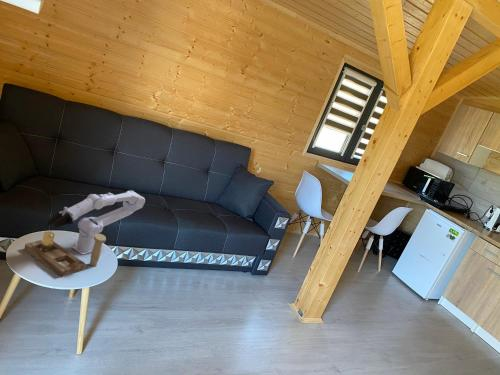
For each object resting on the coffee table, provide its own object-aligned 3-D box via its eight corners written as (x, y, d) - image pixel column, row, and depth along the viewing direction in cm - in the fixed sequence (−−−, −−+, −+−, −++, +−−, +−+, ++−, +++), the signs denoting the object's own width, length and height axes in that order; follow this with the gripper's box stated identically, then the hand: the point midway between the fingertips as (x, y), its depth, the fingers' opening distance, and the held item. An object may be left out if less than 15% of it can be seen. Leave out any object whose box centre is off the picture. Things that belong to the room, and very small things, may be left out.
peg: (46, 249, 180) (50, 230, 178) (52, 253, 178) (56, 235, 176) (37, 251, 176) (41, 232, 174) (43, 256, 174) (48, 237, 172)
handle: (90, 268, 177) (97, 240, 174) (85, 261, 182) (92, 233, 178) (100, 267, 181) (107, 240, 177) (95, 260, 185) (102, 233, 181)
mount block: (48, 243, 185) (49, 238, 184) (84, 269, 175) (85, 263, 175) (24, 249, 174) (25, 243, 174) (61, 277, 165) (62, 271, 164)
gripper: (67, 201, 181) (39, 214, 172) (82, 204, 172) (53, 218, 162) (73, 214, 183) (46, 228, 174) (88, 217, 174) (60, 232, 165)
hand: (50, 224), depth 168 cm, fingers open, 7 cm apart
